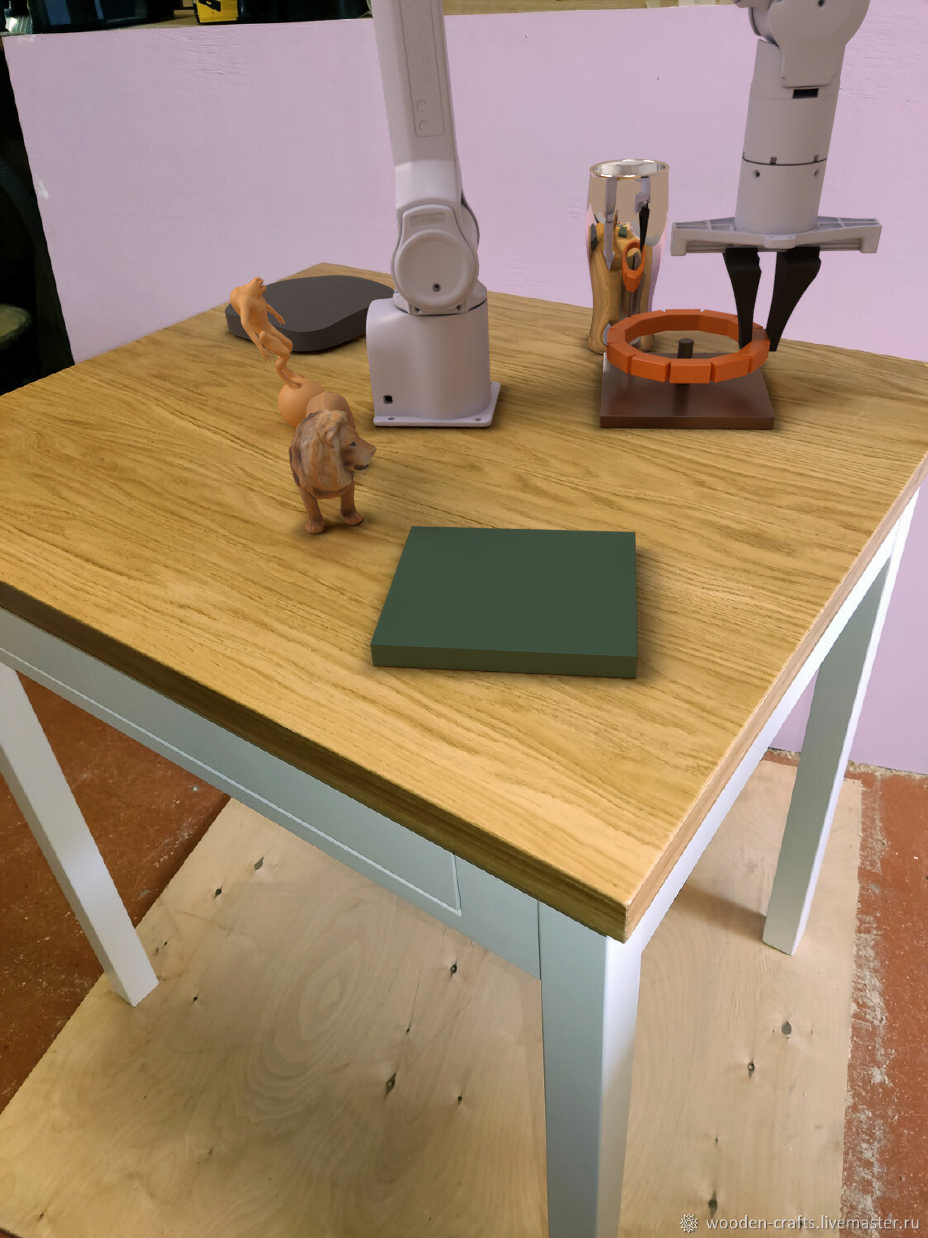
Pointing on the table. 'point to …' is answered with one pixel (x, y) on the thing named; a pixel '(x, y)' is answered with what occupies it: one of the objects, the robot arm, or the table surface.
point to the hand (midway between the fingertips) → (756, 347)
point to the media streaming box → (317, 309)
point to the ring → (685, 368)
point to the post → (684, 399)
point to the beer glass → (624, 242)
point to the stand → (512, 602)
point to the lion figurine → (328, 458)
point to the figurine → (274, 349)
